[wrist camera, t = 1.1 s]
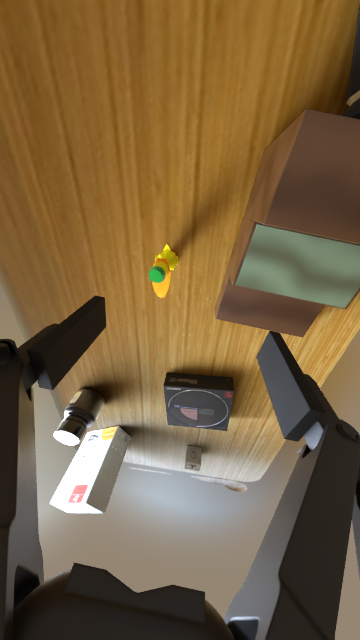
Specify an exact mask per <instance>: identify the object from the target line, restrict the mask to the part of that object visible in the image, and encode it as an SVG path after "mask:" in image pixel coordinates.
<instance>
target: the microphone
mask: <svg viewBox="0 0 360 640" xmlns="http://www.w3.org/2000/svg"><path fill="white" fill-rule="evenodd" d="M347 104H348V105H349V106H350V107H349V108H348V109H347V111H346V112H345V113H344V114H343V116H345V117H350V118H355V119H360V7H359V15H358V22H357V29H356V37H355V44H354V51H353V59H352V66H351V73H350V81H349V88H348V95H347Z"/></svg>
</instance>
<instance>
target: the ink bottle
mask: <svg viewBox="0 0 360 640" xmlns="http://www.w3.org/2000/svg"><path fill="white" fill-rule="evenodd" d="M104 403H105V401H104V398H103V397H102V395H101V394H99V393H98V392H96V391H93V390H90V389H81V390H79V391H78V392H77V393H76V394H75V396H74V397H73V399H72V400H71V401H70V403H69V404H68V406H67V407H66V409H65V411H64V416H65V418H64V419H63V421H62V422H61V423H60V425H59V426H58V428H57V429H56V431H55V432H54V436H55V438H56V439H57V440H58V441H61V442H62V443H64V444H67V445H78V444H79V443H80V441H81V440H82V438H83V436H84V434H85V432H86V430H87V428H88V427H90V426H92V425H93V424H94V423H95V421H96V419H97V417H98V416H99V414H100V412H101V410H102V408H103V406H104Z"/></svg>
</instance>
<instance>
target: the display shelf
mask: <svg viewBox="0 0 360 640" xmlns="http://www.w3.org/2000/svg"><path fill="white" fill-rule="evenodd" d="M359 291H360V119H355V118H350V117H345V116H340V115H335V114H330V113H325V112H321V111H316V110H311V109H306V110H305V111H304V112H303V113H302V114H301V115H299V116H298V117H297V118H296V119H295V120H294V121H293V122H292V123H291V124H290V125H289V126H288V127H287V128H286V129H285V130H284V131H283V132H282V133H281V134H280V135H279V136H278V137H277V138H276V139H275V140H274V141H273V142H272V143H271V144H270V145H269V146H268V147H267V148H266V149H265V150H264V153H263V156H262V159H261V162H260V166H259V169H258V172H257V175H256V178H255V181H254V185H253V188H252V191H251V194H250V197H249V201H248V204H247V207H246V210H245V213H244V216H243V220H242V223H241V226H240V229H239V232H238V236H237V239H236V242H235V245H234V248H233V251H232V255H231V258H230V261H229V264H228V267H227V271H226V274H225V277H224V280H223V283H222V286H221V290H220V293H219V296H218V299H217V302H216V306H215V319H219V320H224V321H229V322H233V323H238V324H243V325H247V326H252V327H257V328H261V329H266V330H271V331H275V332H280V333H285V334H289V335H294V336H299V337H304V335H305V334H306V332H307V331H308V329H309V327H310V326H311V324H312V323H313V321H314V320H315V318H316V317H317V315H318V314H319V312H320V311H321V309H322V308H323V306H324V305H328V306H332V307H337V308H342V309H346V308H347V307H348V306H349V304H350V303H351V302H352V300H353V299H354V297H355V296H356V295H357V293H358V292H359Z"/></svg>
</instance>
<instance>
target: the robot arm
mask: <svg viewBox="0 0 360 640" xmlns="http://www.w3.org/2000/svg"><path fill="white" fill-rule="evenodd" d="M105 327H106V312H105V297H100V296H94V297H93V298H92V299H90V300H89V301H88V302H87V303H85V304H84V305H83V306H82V307H80V308H79V309H78V310H77V311H75V312H74V313H73V314H72V315H70V316H69V317H68V318H66V319H65V320H64V321H63V322H61V323H60V324H52V325H50V326H47V327H45V328H44V329H43V330H41V331H40V332H39V333H37V334H36V335H35V336H34V337H32V338H31V339H29V340H28V341H27V342H25V343H24V344H23V345H21V346H20V347H19V348H17V347H16V344H15V342H14V341H13V340H11V339H0V640H335V630H336V623H337V617H338V610H339V603H340V596H341V589H342V582H343V575H344V568H345V561H346V554H347V547H348V540H349V533H350V526H351V520H352V522H353V531H354V539H355V546H356V554H357V562H358V570H359V577H360V435H359V433H358V432H357V431H356V430H355V429H354V428H353V427H352V426H351V425H349V424H348V423H347V422H345V421H343V420H340V419H339V418H338V417H337V415H336V414H335V412H334V410H333V409H332V407H331V406H330V404H329V402H328V401H327V399H326V398H325V397H324V394H323V393H322V391H320V388H319V387H318V385H317V383H316V382H315V381H314V380H313V379H312V378H311V377H310V376H309V375H307V374H303V372H302V370H301V369H300V367H299V365H298V363H297V362H296V360H295V358H294V357H293V355H292V353H291V352H290V350H289V348H288V347H287V345H286V343H285V341H284V340H283V338H282V336H281V335H280V333H278V332H273V331H269V333H268V335H267V337H266V339H265V341H264V343H263V345H262V347H261V349H260V351H259V353H258V355H257V360H258V363H259V366H260V369H261V372H262V375H263V378H264V381H265V384H266V387H267V390H268V393H269V396H270V399H271V402H272V405H273V408H274V410H275V413H276V416H277V419H278V422H279V425H280V428H281V431H282V434H283V437H284V439H288V440H293V441H299V440H300V439H301V438H302V437H303V436H304V438H305V440H306V442H307V444H306V445H304V446H303V447H302V448H301V449H300V450H299V451H298V452H297V454H300V456H299V458H298V460H297V463H296V465H295V467H294V470H293V472H292V474H291V476H290V479H289V481H288V484H287V486H286V488H285V490H284V493H283V495H282V497H281V500H280V502H279V504H278V507H277V509H276V511H275V513H274V516H273V518H272V520H271V523H270V525H269V527H268V530H267V532H266V534H265V536H264V539H263V541H262V543H261V546H260V548H259V550H258V553H257V555H256V557H255V560H254V562H253V564H252V567H251V569H250V571H249V573H248V576H247V578H246V580H245V582H244V584H243V585H242V587H241V588H240V590H239V591H238V592H237V594H236V595H235V597H234V598H233V600H232V602H231V604H230V606H229V608H228V611H227V613H226V615H225V617H224V619H223V618H222V617H221V616H220V614H219V613H218V612H217V611H216V609H215V608H214V607H213V606H212V605H211V604H210V603H209V602H207V601H206V600H205V592H203V591H198V590H194V589H189V588H185V587H180V586H176V585H170V586H166V587H161V588H157V589H153V590H148V591H144V592H140V593H136V592H134V591H133V590H131V589H130V588H129V587H127V586H126V585H125V584H124V583H122V582H121V581H120V580H118V579H117V578H116V577H114V576H113V575H112V574H111V573H109V572H108V571H107V570H104V569H99V568H95V567H91V566H86V565H82V564H78V563H74V565H73V567H72V569H70V570H66V571H63V572H61V573H58V574H56V575H55V576H53V577H51V578H49V579H48V580H46V581H45V582H44V574H43V557H42V550H41V546H40V542H39V535H38V511H37V483H36V456H35V429H34V400H33V388H32V385H33V384H34V383H35V382H36V381H38V384H39V387H40V388H45V389H50V390H53V389H54V388H55V387H56V386H57V385H58V383H59V382H60V381H61V380H62V379H63V377H64V376H65V375H66V374H67V373H68V371H69V370H70V369H71V368H72V367H73V365H74V364H75V363H76V362H77V361H78V359H79V358H80V357H81V356H82V355H83V353H84V352H85V351H86V350H87V349H88V347H89V346H90V345H91V344H92V343H93V342H94V340H95V339H96V338H97V337H98V336H99V334H100V333H101V332H102V331H103V330H104V328H105Z"/></svg>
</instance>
